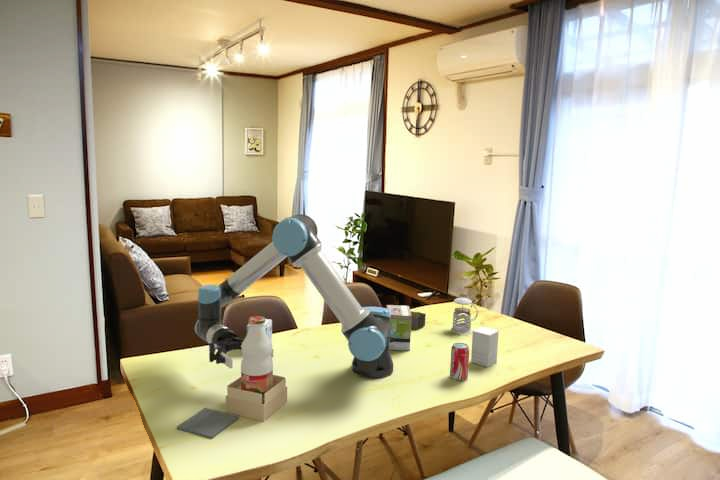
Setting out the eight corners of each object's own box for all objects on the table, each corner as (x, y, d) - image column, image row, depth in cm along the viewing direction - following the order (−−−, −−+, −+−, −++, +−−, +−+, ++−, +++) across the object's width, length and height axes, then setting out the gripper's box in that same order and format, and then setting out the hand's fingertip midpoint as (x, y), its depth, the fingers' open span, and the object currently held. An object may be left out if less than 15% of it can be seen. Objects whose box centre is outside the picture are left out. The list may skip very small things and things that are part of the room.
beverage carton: (388, 318, 243) (389, 305, 242) (426, 326, 233) (426, 312, 232) (381, 323, 236) (381, 309, 235) (419, 330, 226) (420, 316, 225)
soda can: (466, 382, 174) (468, 349, 172) (448, 379, 176) (450, 346, 174) (469, 375, 180) (471, 343, 178) (451, 372, 182) (453, 340, 180)
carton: (287, 401, 157) (287, 377, 155) (263, 421, 144) (263, 395, 143) (251, 393, 161) (251, 369, 160) (225, 411, 149) (225, 386, 148)
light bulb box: (262, 354, 194) (262, 327, 193) (246, 352, 196) (245, 325, 194) (272, 344, 205) (272, 318, 203) (257, 342, 206) (256, 317, 204)
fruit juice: (279, 406, 154) (279, 317, 149) (255, 417, 146) (254, 325, 142) (259, 396, 159) (258, 311, 155) (234, 407, 152) (233, 318, 148)
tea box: (410, 351, 201) (412, 315, 199) (385, 350, 202) (386, 314, 199) (407, 338, 216) (409, 304, 214) (384, 337, 217) (385, 304, 214)
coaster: (238, 418, 146) (238, 416, 146) (212, 438, 135) (212, 436, 135) (205, 409, 150) (205, 407, 150) (176, 428, 139) (176, 426, 139)
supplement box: (497, 362, 192) (499, 330, 190) (487, 367, 187) (489, 335, 185) (480, 356, 197) (482, 325, 195) (470, 362, 192) (472, 330, 190)
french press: (449, 326, 233) (452, 273, 229) (475, 328, 232) (478, 275, 228) (450, 333, 223) (453, 278, 220) (477, 335, 222) (481, 280, 218)
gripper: (255, 341, 176) (287, 360, 160) (185, 357, 161) (213, 380, 144) (255, 320, 175) (287, 338, 159) (184, 335, 159) (212, 356, 143)
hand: (252, 358), depth 152 cm, fingers open, 13 cm apart
